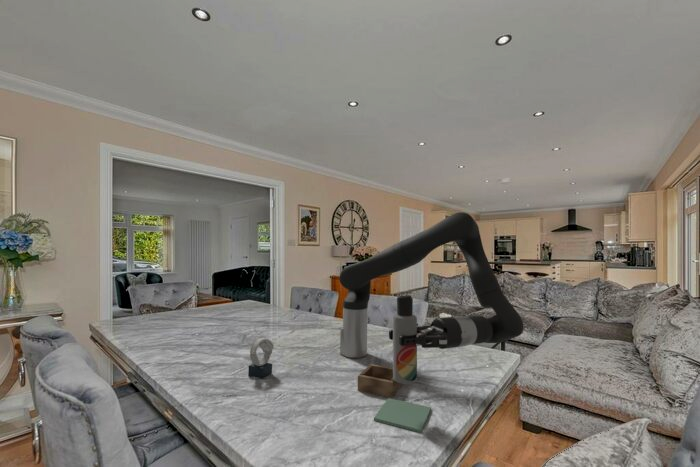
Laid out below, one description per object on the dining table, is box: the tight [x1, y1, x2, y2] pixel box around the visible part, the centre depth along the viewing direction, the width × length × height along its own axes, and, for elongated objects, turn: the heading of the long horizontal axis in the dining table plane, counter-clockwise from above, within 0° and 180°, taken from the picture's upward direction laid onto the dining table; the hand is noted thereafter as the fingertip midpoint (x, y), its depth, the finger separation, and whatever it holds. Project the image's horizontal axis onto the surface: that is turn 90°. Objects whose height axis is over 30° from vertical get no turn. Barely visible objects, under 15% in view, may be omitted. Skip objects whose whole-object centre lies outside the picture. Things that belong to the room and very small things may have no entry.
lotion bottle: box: [392, 294, 418, 385], centre depth 77 cm, size 6×6×20 cm
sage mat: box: [373, 397, 432, 434], centre depth 76 cm, size 11×11×1 cm
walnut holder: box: [357, 363, 403, 399], centre depth 91 cm, size 10×10×4 cm
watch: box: [247, 337, 275, 380], centre depth 99 cm, size 6×8×11 cm
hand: (394, 337), depth 76 cm, fingers closed on lotion bottle, 4 cm apart
